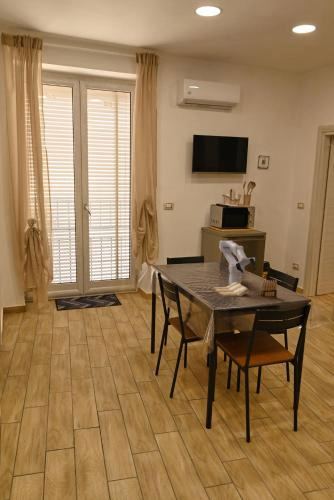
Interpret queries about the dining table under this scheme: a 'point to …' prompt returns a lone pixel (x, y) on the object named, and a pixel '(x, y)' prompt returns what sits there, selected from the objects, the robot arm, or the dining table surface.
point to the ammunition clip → (269, 289)
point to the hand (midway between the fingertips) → (248, 270)
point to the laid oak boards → (224, 291)
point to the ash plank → (238, 289)
